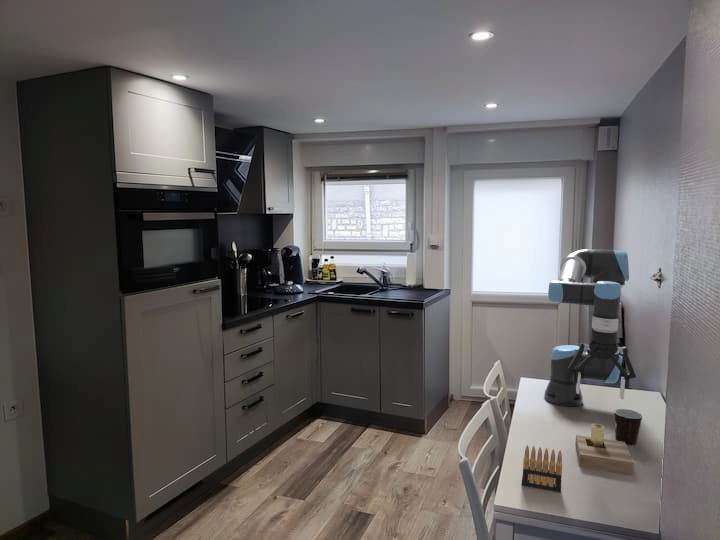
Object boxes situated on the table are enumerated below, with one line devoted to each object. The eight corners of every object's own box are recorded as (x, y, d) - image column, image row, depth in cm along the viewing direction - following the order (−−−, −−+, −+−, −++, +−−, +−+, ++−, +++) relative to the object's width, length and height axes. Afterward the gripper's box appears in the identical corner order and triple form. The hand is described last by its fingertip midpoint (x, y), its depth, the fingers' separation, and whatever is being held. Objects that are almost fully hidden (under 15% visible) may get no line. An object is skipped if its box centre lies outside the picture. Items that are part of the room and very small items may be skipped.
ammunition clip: (521, 485, 148) (523, 445, 146) (521, 482, 149) (524, 443, 148) (561, 492, 144) (564, 452, 143) (560, 489, 146) (563, 449, 145)
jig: (575, 446, 174) (576, 434, 173) (624, 453, 169) (625, 442, 169) (579, 466, 160) (580, 454, 159) (632, 475, 155) (633, 462, 155)
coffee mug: (617, 433, 185) (619, 407, 184) (643, 441, 179) (645, 414, 178) (605, 443, 177) (607, 415, 175) (632, 451, 170) (634, 423, 169)
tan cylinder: (588, 451, 170) (591, 422, 169) (601, 453, 169) (603, 424, 167) (590, 456, 166) (592, 427, 165) (602, 458, 165) (605, 429, 164)
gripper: (564, 328, 163) (559, 393, 165) (650, 336, 155) (644, 404, 158) (562, 324, 170) (558, 386, 173) (645, 331, 162) (639, 396, 165)
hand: (599, 395), depth 165 cm, fingers open, 12 cm apart
